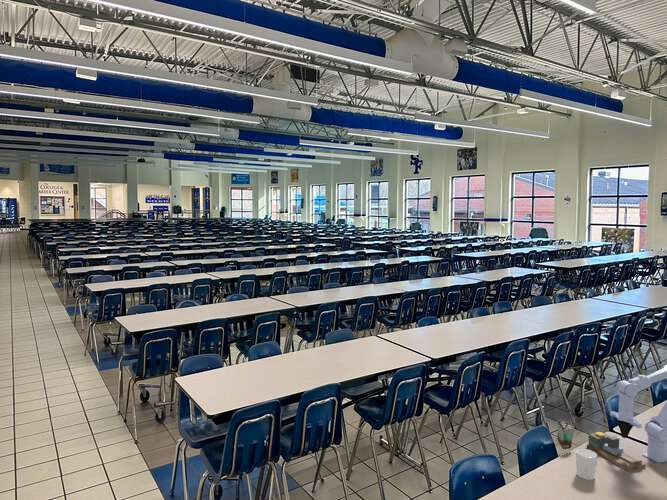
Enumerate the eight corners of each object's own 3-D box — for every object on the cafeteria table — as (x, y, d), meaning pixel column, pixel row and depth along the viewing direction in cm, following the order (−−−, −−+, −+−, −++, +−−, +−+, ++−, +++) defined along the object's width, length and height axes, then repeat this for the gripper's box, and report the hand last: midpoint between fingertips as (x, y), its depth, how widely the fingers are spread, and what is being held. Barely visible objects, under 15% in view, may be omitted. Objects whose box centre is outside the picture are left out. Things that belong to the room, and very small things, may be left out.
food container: (577, 451, 223) (578, 430, 223) (563, 450, 224) (564, 429, 224) (569, 439, 235) (570, 420, 235) (556, 438, 236) (557, 418, 236)
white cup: (578, 469, 207) (579, 446, 207) (598, 476, 202) (599, 453, 201) (572, 475, 202) (573, 452, 201) (592, 483, 196) (593, 459, 196)
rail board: (603, 444, 230) (603, 431, 230) (645, 467, 209) (645, 453, 209) (586, 447, 227) (587, 434, 227) (627, 470, 206) (628, 456, 206)
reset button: (599, 441, 229) (599, 431, 228) (606, 444, 225) (606, 435, 225) (592, 442, 227) (593, 432, 227) (599, 446, 224) (600, 436, 223)
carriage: (611, 448, 223) (612, 434, 222) (622, 454, 217) (623, 440, 217) (603, 449, 221) (603, 435, 221) (614, 456, 215) (615, 441, 215)
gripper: (605, 403, 221) (604, 431, 222) (633, 415, 208) (632, 445, 209) (617, 401, 224) (615, 429, 224) (645, 413, 210) (644, 443, 211)
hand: (624, 437), depth 217 cm, fingers closed
